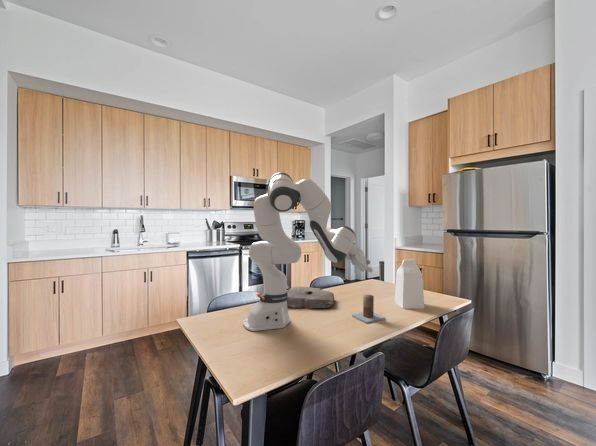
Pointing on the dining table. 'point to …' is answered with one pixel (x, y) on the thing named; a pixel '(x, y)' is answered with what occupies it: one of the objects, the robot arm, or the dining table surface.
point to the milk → (409, 286)
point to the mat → (368, 320)
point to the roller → (368, 306)
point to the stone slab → (309, 298)
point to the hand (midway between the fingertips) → (370, 266)
